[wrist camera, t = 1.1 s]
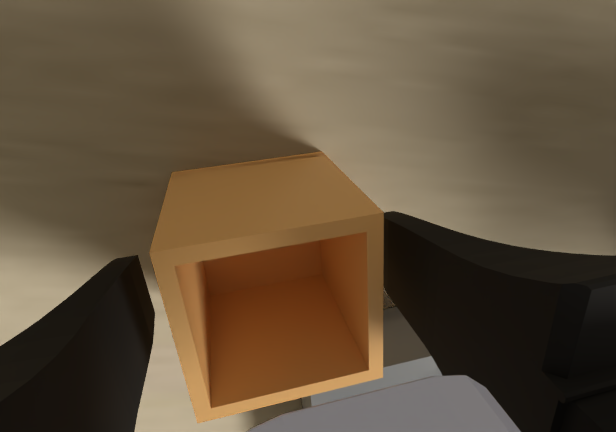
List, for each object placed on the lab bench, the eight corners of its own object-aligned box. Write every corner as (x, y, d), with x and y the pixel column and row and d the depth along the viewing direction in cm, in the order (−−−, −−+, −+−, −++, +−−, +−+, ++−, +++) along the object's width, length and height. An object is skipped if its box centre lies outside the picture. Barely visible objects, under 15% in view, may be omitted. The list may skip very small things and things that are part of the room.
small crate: (321, 150, 14) (383, 212, 9) (328, 272, 16) (383, 377, 11) (171, 171, 13) (149, 252, 8) (201, 297, 15) (197, 423, 10)
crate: (515, 281, 18) (568, 323, 15) (488, 433, 23) (526, 486, 20) (293, 328, 16) (309, 385, 14) (311, 484, 21) (326, 549, 18)
